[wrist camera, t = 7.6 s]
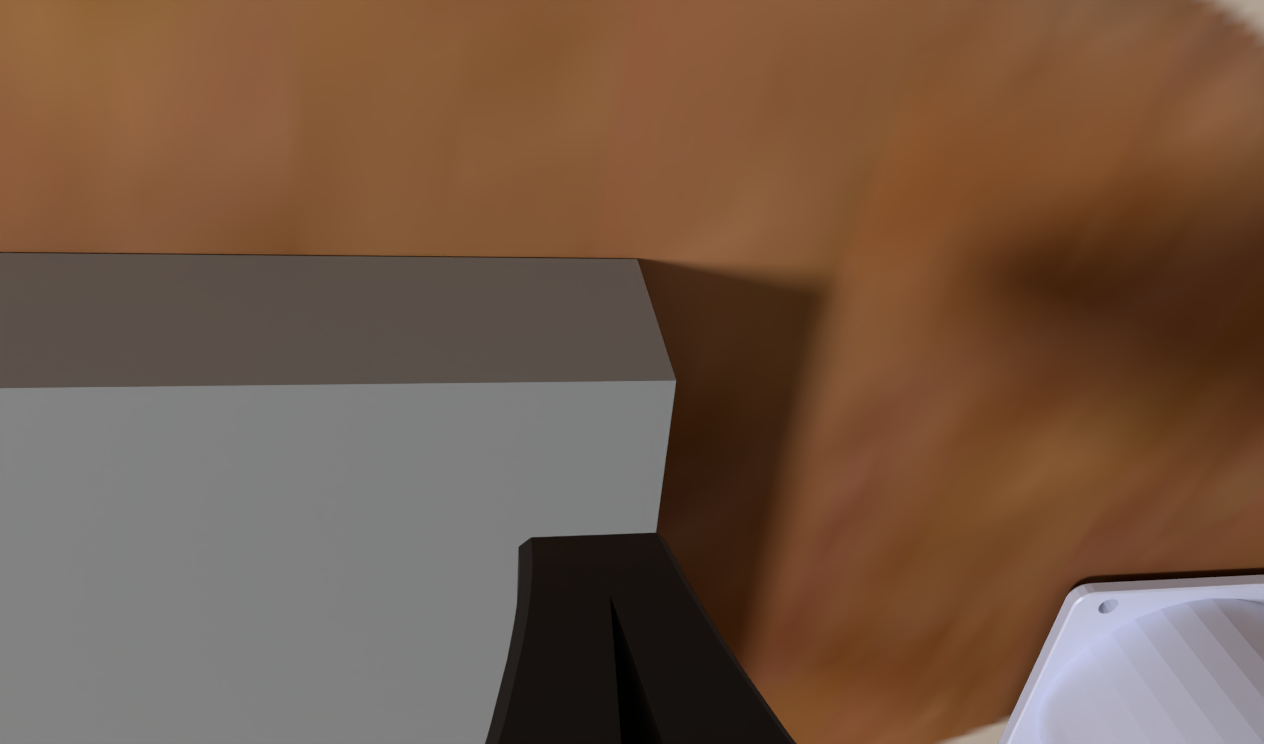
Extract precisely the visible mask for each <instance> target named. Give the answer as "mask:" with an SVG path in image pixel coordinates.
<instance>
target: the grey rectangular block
mask: <svg viewBox="0 0 1264 744" xmlns="http://www.w3.org/2000/svg"><path fill="white" fill-rule="evenodd" d="M675 386H676V378H675V375H674V372H673V369H672V366H671V363H670V360H669V357H668V353H667V350H666V347H665V344H664V341H663V338H662V335H661V332H660V328H659V325H658V322H657V319H656V316H655V313H654V310H653V307H652V303H651V300H650V297H649V294H648V291H647V288H646V285H645V282H644V278H643V275H642V272H641V269H640V266H639V263H638V260H637V259H576V258H474V257H372V256H270V255H168V254H66V253H0V744H485V742H486V738H487V735H488V732H489V728H490V724H491V720H492V717H493V713H494V709H495V705H496V701H497V697H498V693H499V689H500V685H501V681H502V677H503V673H504V669H505V665H506V661H507V657H508V652H509V647H510V641H511V636H512V631H513V625H514V620H515V613H516V606H517V581H518V548H519V546H520V545H521V544H523V543H524V542H525V541H527V540H528V539H529V538H531V537H552V536H578V535H605V534H631V533H656V528H657V521H658V513H659V506H660V498H661V491H662V483H663V476H664V468H665V461H666V454H667V446H668V439H669V431H670V424H671V416H672V409H673V401H674V394H675Z"/></svg>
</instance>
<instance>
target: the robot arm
mask: <svg viewBox="0 0 1264 744" xmlns="http://www.w3.org/2000/svg"><path fill="white" fill-rule="evenodd" d="M485 744H796V743H795V742H794V740H793V739H792V737H791V736H790V735H789V733H788V732H787V731H786V729H785V728H784V727H783V725H782V724H781V722H780V721H779V720H778V718H777V717H776V715H775V714H774V712H773V711H772V710H771V708H770V707H769V705H768V704H767V702H766V701H765V700H764V698H763V697H762V695H761V694H760V692H759V691H758V690H757V688H756V687H755V685H754V684H753V683H752V681H751V680H750V678H749V677H748V675H747V674H746V673H745V671H744V670H743V668H742V667H741V665H740V664H739V662H738V661H737V659H736V658H735V656H734V655H733V653H732V652H731V650H730V649H729V647H728V645H727V644H726V642H725V641H724V639H723V638H722V636H721V634H720V633H719V631H718V630H717V628H716V627H715V625H714V623H713V622H712V620H711V619H710V617H709V615H708V614H707V612H706V611H705V609H704V607H703V606H702V604H701V602H700V601H699V599H698V597H697V596H696V594H695V592H694V591H693V589H692V587H691V585H690V584H689V582H688V580H687V579H686V577H685V575H684V573H683V572H682V570H681V568H680V566H679V564H678V563H677V561H676V559H675V557H674V555H673V553H672V552H671V550H670V548H669V546H668V544H667V542H666V541H665V540H664V539H663V538H662V537H661V536H660V535H659V534H658V533H631V534H605V535H578V536H552V537H531V538H529V539H528V540H527V541H525V542H524V543H523V544H521V545H520V546H519V548H518V581H517V606H516V613H515V620H514V625H513V631H512V636H511V641H510V647H509V652H508V657H507V661H506V665H505V669H504V673H503V677H502V681H501V685H500V689H499V693H498V697H497V701H496V705H495V709H494V713H493V717H492V720H491V724H490V728H489V732H488V735H487V738H486V742H485ZM998 744H1264V575H1246V576H1226V577H1206V578H1186V579H1166V580H1146V581H1126V582H1106V583H1088V584H1083V585H1080V586H1078V587H1076V588H1074V589H1073V590H1072V591H1070V592H1069V594H1068V595H1067V597H1066V599H1065V601H1064V603H1063V605H1062V607H1061V609H1060V612H1059V614H1058V616H1057V618H1056V620H1055V622H1054V624H1053V627H1052V629H1051V631H1050V633H1049V635H1048V637H1047V640H1046V642H1045V644H1044V646H1043V648H1042V650H1041V652H1040V655H1039V657H1038V659H1037V661H1036V663H1035V665H1034V667H1033V670H1032V672H1031V674H1030V676H1029V678H1028V680H1027V683H1026V685H1025V687H1024V689H1023V691H1022V693H1021V695H1020V698H1019V700H1018V702H1017V704H1016V706H1015V708H1014V710H1013V713H1012V715H1011V717H1010V719H1009V721H1008V723H1007V725H1006V728H1005V730H1004V732H1003V734H1002V736H1001V738H1000V741H999V743H998Z"/></svg>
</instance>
